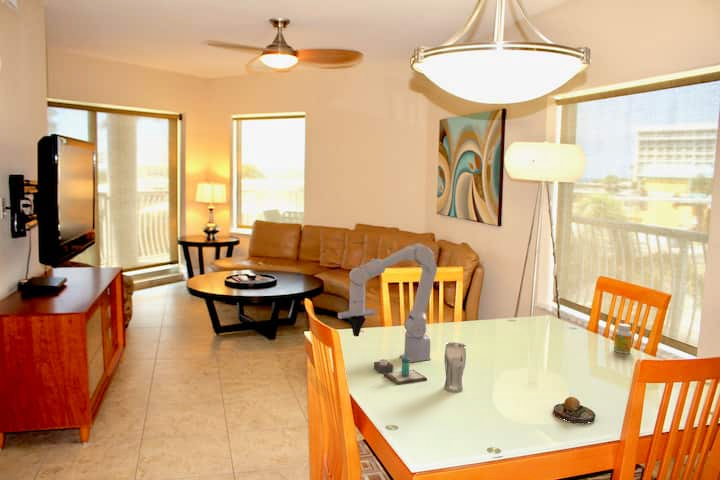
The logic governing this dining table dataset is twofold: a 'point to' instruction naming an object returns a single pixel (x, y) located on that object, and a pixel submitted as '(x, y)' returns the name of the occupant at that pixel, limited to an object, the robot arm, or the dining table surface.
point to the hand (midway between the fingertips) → (355, 335)
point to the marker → (405, 366)
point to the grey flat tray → (405, 377)
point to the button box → (383, 367)
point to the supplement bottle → (623, 339)
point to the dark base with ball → (574, 411)
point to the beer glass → (454, 366)
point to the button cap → (383, 362)
